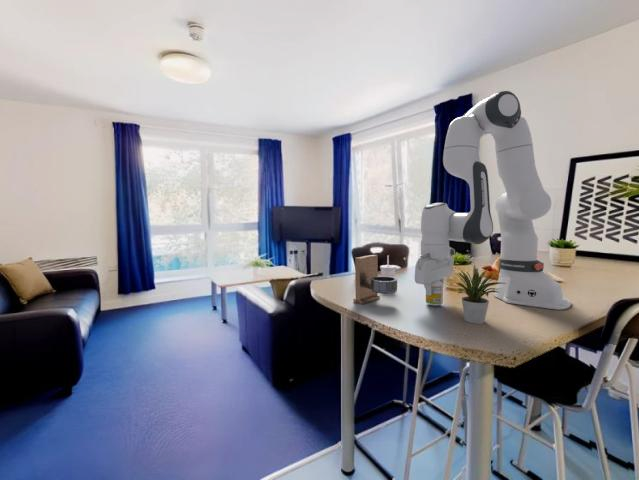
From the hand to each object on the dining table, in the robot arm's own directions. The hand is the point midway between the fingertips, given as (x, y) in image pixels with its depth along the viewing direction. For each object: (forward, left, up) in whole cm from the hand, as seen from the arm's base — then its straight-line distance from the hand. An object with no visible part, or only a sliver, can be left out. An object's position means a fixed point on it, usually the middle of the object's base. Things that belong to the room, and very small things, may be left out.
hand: (434, 292), depth 107 cm
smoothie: (+23, -7, -5) cm, 25 cm away
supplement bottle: (0, 0, -4) cm, 4 cm away
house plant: (-16, +7, -5) cm, 18 cm away
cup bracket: (+15, +11, -4) cm, 19 cm away
